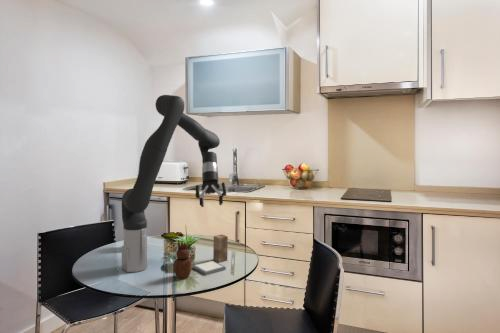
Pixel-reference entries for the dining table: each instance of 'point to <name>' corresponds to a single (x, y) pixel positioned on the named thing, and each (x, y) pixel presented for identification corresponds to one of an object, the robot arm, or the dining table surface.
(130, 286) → the dining table surface
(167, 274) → the dining table surface
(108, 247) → the dining table surface
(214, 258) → the walnut block
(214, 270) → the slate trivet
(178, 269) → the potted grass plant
